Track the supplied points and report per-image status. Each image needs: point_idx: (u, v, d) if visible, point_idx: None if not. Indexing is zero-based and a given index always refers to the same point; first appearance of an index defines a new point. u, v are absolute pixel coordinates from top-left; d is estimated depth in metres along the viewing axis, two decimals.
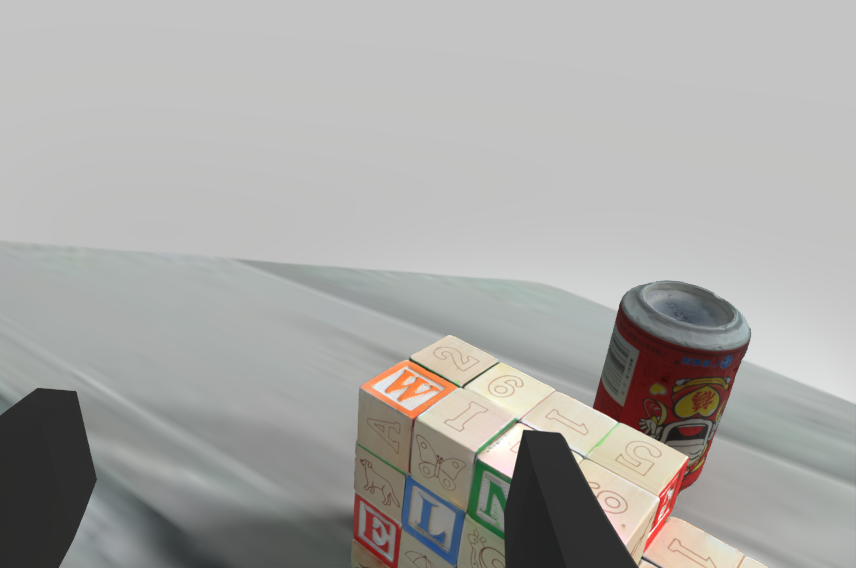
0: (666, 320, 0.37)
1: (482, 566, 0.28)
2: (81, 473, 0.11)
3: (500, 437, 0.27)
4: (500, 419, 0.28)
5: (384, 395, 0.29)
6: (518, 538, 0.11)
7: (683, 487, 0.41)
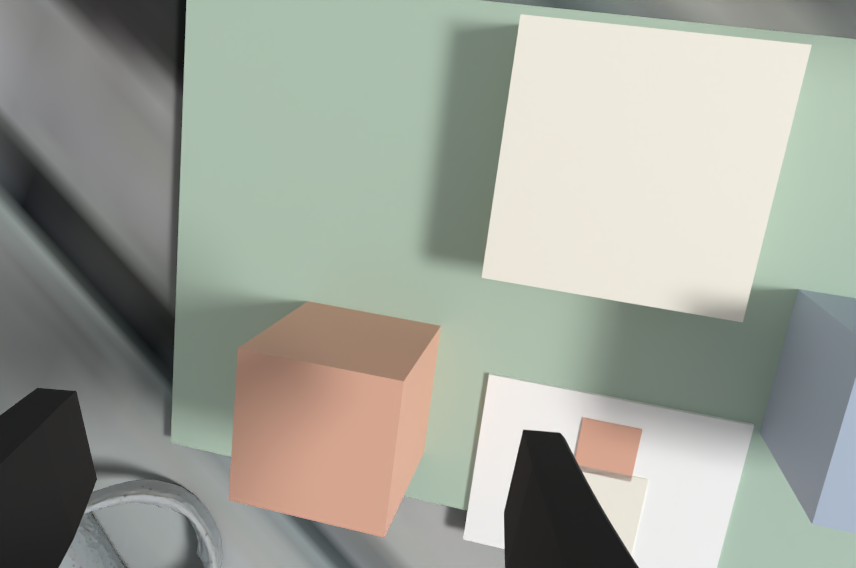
0: None
1: None
2: (81, 473, 0.11)
3: None
4: None
5: None
6: (518, 537, 0.11)
7: None
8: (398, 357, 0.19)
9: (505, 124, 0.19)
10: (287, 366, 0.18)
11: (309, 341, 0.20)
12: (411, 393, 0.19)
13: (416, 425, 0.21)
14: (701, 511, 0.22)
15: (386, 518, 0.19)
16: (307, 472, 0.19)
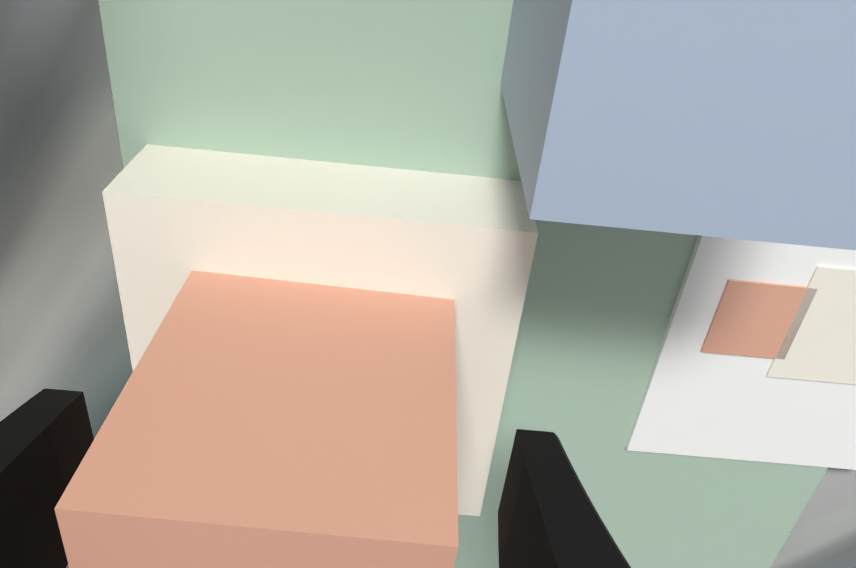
0: None
1: None
2: None
3: None
4: None
5: None
6: (511, 537, 0.11)
7: None
8: (416, 442, 0.09)
9: None
10: (184, 533, 0.08)
11: (219, 426, 0.09)
12: None
13: None
14: None
15: None
16: None
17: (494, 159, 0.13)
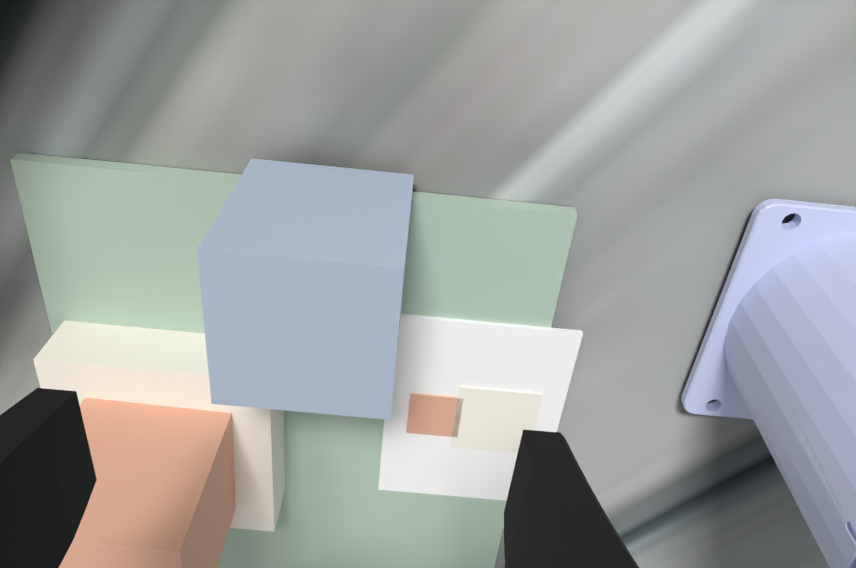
0: None
1: None
2: (81, 473, 0.11)
3: None
4: None
5: None
6: (518, 537, 0.11)
7: None
8: (178, 499, 0.19)
9: None
10: None
11: None
12: (197, 530, 0.19)
13: (215, 523, 0.21)
14: (487, 346, 0.23)
15: None
16: None
17: None
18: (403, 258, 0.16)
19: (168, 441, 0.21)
